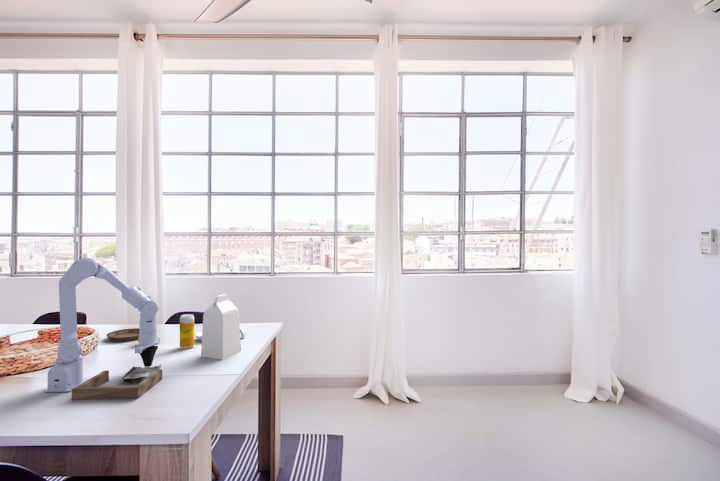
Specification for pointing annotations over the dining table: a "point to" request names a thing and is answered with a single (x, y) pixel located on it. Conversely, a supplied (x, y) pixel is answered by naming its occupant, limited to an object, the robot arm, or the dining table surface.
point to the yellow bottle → (186, 331)
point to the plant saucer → (124, 335)
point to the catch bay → (113, 388)
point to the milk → (221, 329)
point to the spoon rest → (199, 334)
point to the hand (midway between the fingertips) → (148, 366)
